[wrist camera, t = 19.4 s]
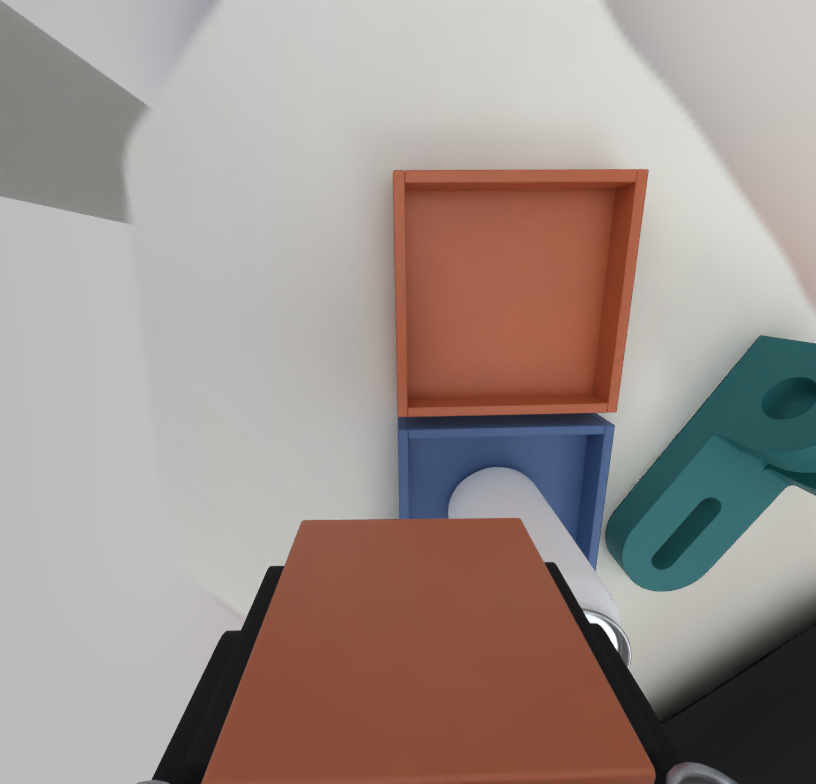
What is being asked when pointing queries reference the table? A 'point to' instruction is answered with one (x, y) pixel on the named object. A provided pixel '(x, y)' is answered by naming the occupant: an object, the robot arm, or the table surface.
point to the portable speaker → (757, 720)
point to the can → (541, 540)
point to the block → (423, 667)
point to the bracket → (722, 468)
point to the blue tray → (510, 463)
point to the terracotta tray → (513, 289)
